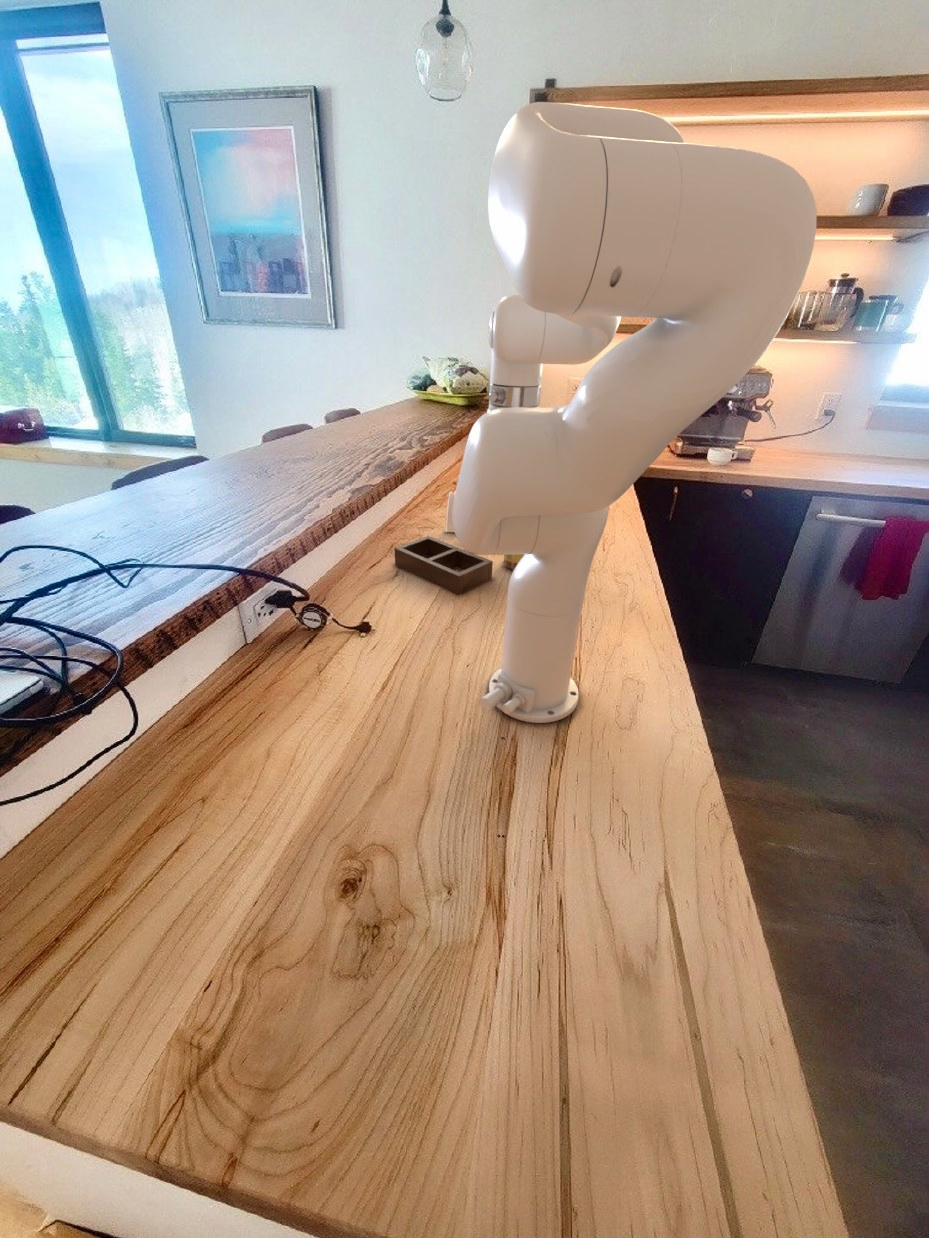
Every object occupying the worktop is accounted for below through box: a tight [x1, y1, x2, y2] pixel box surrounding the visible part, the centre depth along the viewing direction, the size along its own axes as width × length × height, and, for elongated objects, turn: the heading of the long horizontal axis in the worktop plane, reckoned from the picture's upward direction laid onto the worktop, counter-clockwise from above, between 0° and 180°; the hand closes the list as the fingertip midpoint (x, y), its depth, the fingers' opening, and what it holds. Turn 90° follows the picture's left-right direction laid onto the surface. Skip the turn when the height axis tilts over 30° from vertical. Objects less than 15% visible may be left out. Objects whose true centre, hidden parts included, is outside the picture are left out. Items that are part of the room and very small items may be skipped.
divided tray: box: [393, 535, 494, 596], centre depth 104 cm, size 10×19×4 cm, turn 47°
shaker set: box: [445, 491, 455, 533], centre depth 122 cm, size 12×4×11 cm, turn 76°
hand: (505, 514), depth 84 cm, fingers closed on pear, 5 cm apart
